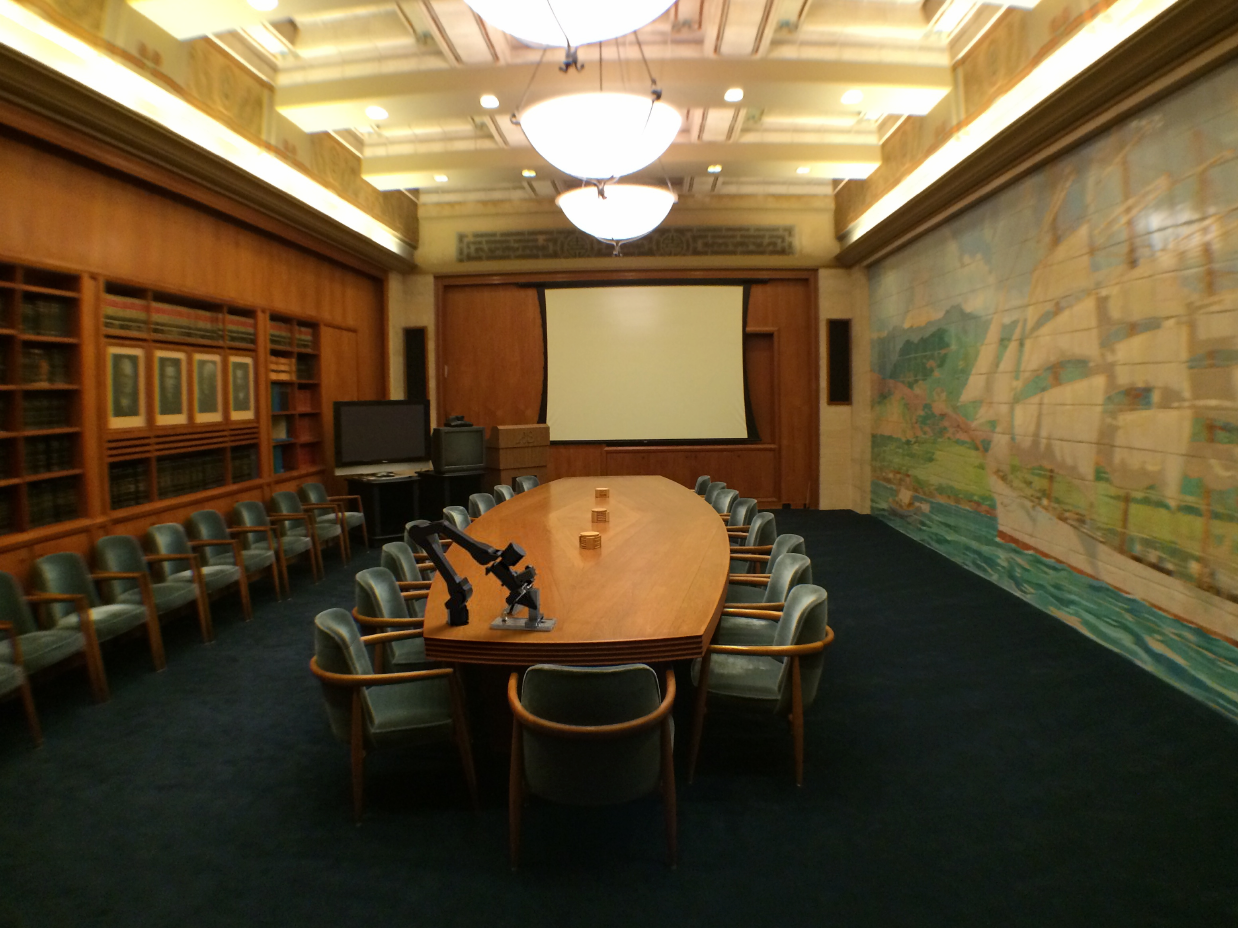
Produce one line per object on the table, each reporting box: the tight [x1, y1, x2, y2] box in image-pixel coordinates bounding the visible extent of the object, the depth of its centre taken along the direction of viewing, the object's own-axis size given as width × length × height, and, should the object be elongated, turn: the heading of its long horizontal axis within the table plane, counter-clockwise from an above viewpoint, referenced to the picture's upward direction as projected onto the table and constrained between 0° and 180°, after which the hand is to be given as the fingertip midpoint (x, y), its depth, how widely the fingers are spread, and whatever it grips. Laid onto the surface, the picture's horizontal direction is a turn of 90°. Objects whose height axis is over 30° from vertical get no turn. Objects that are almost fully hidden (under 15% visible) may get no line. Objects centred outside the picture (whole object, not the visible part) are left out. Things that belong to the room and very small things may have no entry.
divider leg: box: [525, 587, 545, 628], centre depth 238 cm, size 4×10×12 cm, turn 172°
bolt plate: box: [490, 611, 557, 632], centre depth 239 cm, size 21×8×4 cm, turn 82°
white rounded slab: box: [502, 584, 535, 616], centre depth 259 cm, size 17×5×10 cm, turn 168°
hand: (538, 607), depth 238 cm, fingers closed on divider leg, 3 cm apart
